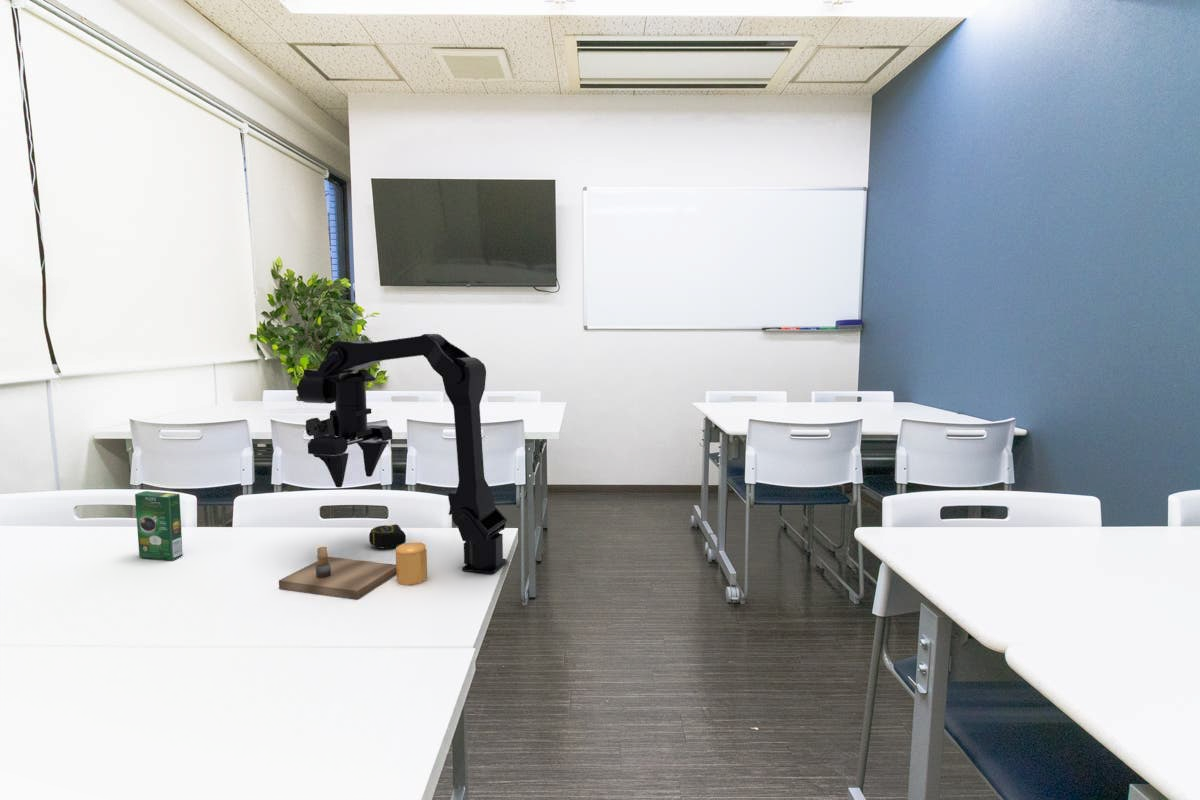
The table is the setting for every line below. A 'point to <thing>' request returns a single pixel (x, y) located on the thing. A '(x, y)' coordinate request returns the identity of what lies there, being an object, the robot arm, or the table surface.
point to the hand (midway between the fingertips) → (354, 481)
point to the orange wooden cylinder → (411, 563)
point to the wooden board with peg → (338, 576)
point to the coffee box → (159, 525)
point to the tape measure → (387, 536)
